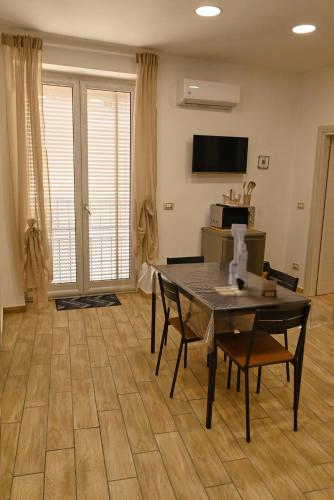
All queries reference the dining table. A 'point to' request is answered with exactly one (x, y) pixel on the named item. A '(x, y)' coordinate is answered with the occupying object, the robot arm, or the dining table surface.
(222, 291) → the laid oak boards
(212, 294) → the dining table surface
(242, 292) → the ash plank
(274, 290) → the ammunition clip
